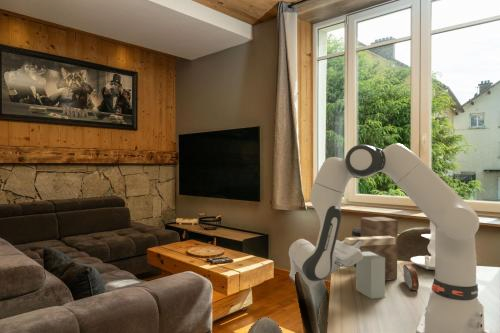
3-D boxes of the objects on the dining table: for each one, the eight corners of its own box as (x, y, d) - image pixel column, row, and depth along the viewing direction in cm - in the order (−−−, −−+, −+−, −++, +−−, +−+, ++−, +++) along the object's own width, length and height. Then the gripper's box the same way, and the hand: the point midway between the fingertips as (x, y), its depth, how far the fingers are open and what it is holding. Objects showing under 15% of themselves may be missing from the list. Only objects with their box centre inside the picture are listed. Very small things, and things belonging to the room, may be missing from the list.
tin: (419, 293, 136) (419, 272, 136) (410, 293, 136) (411, 271, 136) (409, 281, 151) (409, 261, 150) (402, 280, 151) (402, 261, 151)
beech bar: (350, 246, 131) (350, 240, 131) (344, 244, 135) (344, 237, 135) (395, 244, 136) (395, 237, 136) (388, 241, 140) (388, 235, 140)
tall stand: (373, 281, 150) (374, 221, 150) (360, 274, 159) (360, 217, 159) (397, 278, 153) (397, 220, 153) (382, 272, 163) (383, 216, 162)
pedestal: (370, 298, 130) (371, 258, 130) (355, 289, 140) (356, 252, 139) (384, 297, 131) (385, 257, 131) (368, 288, 141) (369, 251, 141)
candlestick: (401, 270, 166) (402, 211, 166) (417, 259, 184) (418, 207, 184) (450, 280, 152) (451, 216, 152) (462, 267, 171) (463, 211, 171)
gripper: (339, 260, 120) (370, 239, 123) (313, 246, 140) (340, 228, 143) (347, 275, 121) (377, 254, 124) (320, 259, 141) (346, 241, 144)
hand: (357, 240), depth 134 cm, fingers closed on beech bar, 4 cm apart
